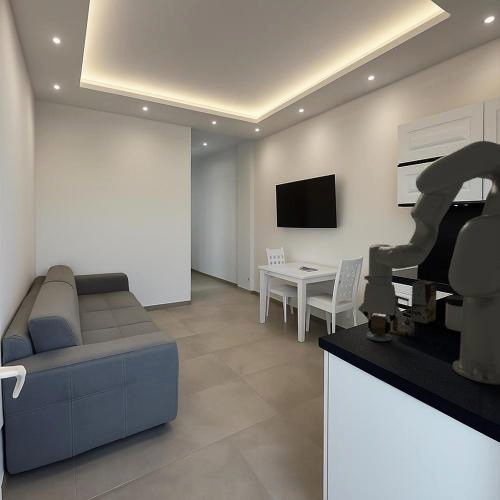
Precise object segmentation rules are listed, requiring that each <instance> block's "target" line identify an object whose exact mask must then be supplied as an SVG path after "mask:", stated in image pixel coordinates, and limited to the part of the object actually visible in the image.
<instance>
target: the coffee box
mask: <svg viewBox="0 0 500 500" xmlns="http://www.w3.org/2000/svg"><path fill="white" fill-rule="evenodd" d="M411 284H412V288H411V309H410V311H411V313H410V321H413V322H416V323H417V322H418V323H421V324H425V325H427V324H429V323H430V322H433V321H435V320H436V313H437V312H436V310H437V291H438V290H437V288H438V281H432V280H431V281H430V280H421V279H420V280H417V281H413V282H412V283H411Z"/></svg>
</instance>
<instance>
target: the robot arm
mask: <svg viewBox="0 0 500 500" xmlns="http://www.w3.org/2000/svg"><path fill="white" fill-rule="evenodd" d="M477 178H478V179H483V180H484V179H485V180H488V181H491V183H492V185H491V188H490V190H488V191H489V192H488V193H487V195H486V198H485V201H484V207H483V209H482V213H481V215H479V216H476V217H473V218H471V219H469V220H467V221H466V222H465V223H464V225H463V226H462V227H461V228H460V231H459V232H458V235H457V238H456V242H455V246H454V251H453V253H452V257H451V262H450V265H449V267H448V268H449V269H448V282H449V285H450V287H451V288H452V290H453V291H454V292H455V293H456V294H458V295H459V296H464V299H463V306H462V322H461V332H460V346H459V359H457V360H454V361H453V363H452V369H453V370H454V372H456V374H459V375H460V376H462V377H464V378H466V379H469V380H471V381H474V382H477V383H481V384H487V385H488V384H489V385H496V386H497V385H500V143H496V142H493V141H488V140H479V141H474V142H472V143H469V144H466V145H465V146H462V147H460V148H458V149H457V150H455V151H452V152H451V153H449V154H446V155H444V156H443V157H440V158H438V159H436V160H434V161H432V162H431V163H429V164H427V165H426V166H424V167H423V168H422V169H421V170H420V171H419V172H418V174H417V176H416V178H415V187H416V189H417V191H419V192H420V195H419V196H418V198H417V200H416V202H415V204H414V206H413V207H412V209H411V211H410V216H411V218H412V220H414V222H415V230H414V232H413V235H412V237H411V239H409V242H408V243H407V244H400V245H389V244H372V245H370V247H369V251H368V252H369V253H368V274H367V275H364V276H363V277H364V280H366V281H367V282H366V283H365V287H364V294H363V302H362V303H361V305H360V306H359V307H358V309H357V310H358V311H359V312H360V313H362V314H363V315H364V316H365V318H366V319H367V327H368V329H369V332H371V318H372V317H373V315H374V314H376V315H377V314H378V315H385V316H386V325H385V333H386V334H389V333H388V331H390V327H392V326H391V323H392V322H393V320H394V319H395V318H397V317H398V318H399V317H401V316H403V312H402V311H401V309H400V308H399V306H398V307H397V305H396V296H395V295H396V290H395V285H394V284H393V269H395V270H401V269H406V268H407V269H408V268H412V267H413V268H414V267H417V266H420V265H421V264H422V263H423V262H424V261H425V260H426V259H427V257H428V256H429V254H430V253H431V251H432V249H433V247H434V246H435V244H436V241H437V238H438V233H439V225H440V223H441V222H442V219H444V216H445V215H446V213H447V212H448V210H449V209H450V207H451V205H452V204H453V202H454V201H455V199H456V198H457V196H458V194H459V193H460V191H461V189H462V188H463V185H464V183H467V182H469V181H472V180H474V179H477ZM395 311H396V314H394V312H395Z"/></svg>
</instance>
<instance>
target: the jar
mask: <svg viewBox="0 0 500 500" xmlns="http://www.w3.org/2000/svg"><path fill="white" fill-rule="evenodd" d="M463 299H464V296H462V295H459V294H458V295H456V294H454V295H453V294H452V295H450V294H449V295H447V296H446V303H445V322H444V323H445V324H444V325H445V327H446V329H448V330H451V331H455V332H460V333H461V322H462V306H463Z"/></svg>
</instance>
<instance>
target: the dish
mask: <svg viewBox="0 0 500 500" xmlns="http://www.w3.org/2000/svg"><path fill="white" fill-rule="evenodd" d="M366 337H367V338H368V339H370V340H372V341H374V342H382V343H384V342H388V341H391V340H392V335H391V334H390V333H388V334H386V335H385V336H383V335H377V334H371V331H367V332H366Z"/></svg>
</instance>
